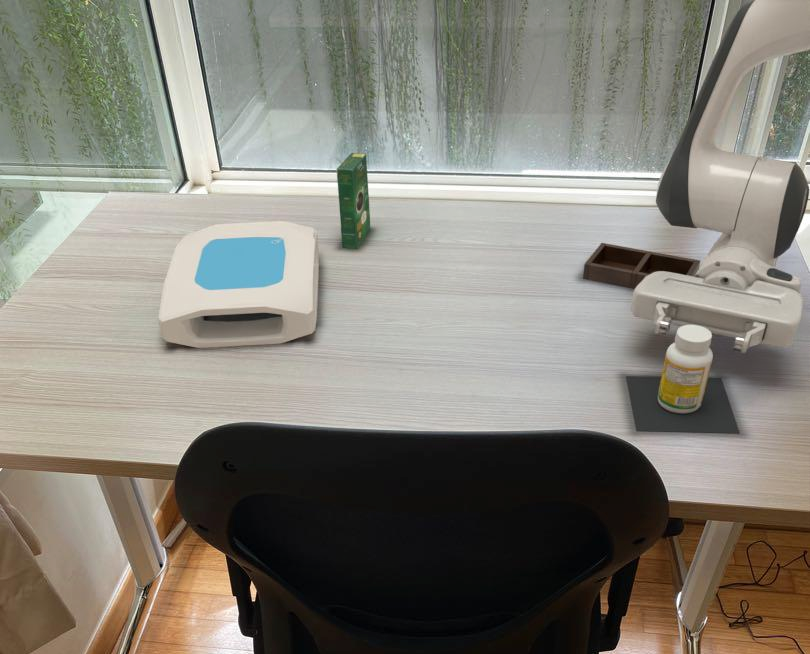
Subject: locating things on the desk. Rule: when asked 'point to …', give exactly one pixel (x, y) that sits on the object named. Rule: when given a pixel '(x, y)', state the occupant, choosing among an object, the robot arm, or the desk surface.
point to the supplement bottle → (686, 370)
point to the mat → (655, 418)
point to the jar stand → (633, 265)
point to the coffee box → (353, 200)
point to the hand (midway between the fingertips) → (699, 337)
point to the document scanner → (241, 284)
